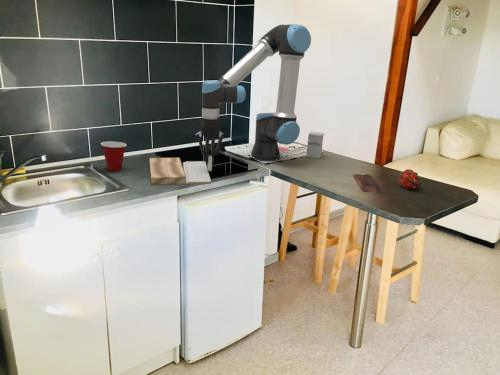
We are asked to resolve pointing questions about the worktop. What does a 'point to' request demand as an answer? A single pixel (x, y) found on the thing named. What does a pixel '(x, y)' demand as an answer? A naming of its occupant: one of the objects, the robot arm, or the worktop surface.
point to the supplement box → (314, 144)
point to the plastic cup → (114, 154)
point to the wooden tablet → (368, 184)
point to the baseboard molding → (196, 172)
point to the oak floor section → (166, 171)
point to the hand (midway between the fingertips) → (209, 169)
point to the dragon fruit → (409, 179)
